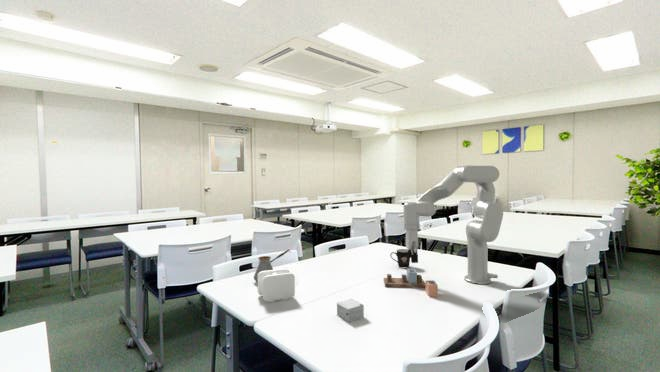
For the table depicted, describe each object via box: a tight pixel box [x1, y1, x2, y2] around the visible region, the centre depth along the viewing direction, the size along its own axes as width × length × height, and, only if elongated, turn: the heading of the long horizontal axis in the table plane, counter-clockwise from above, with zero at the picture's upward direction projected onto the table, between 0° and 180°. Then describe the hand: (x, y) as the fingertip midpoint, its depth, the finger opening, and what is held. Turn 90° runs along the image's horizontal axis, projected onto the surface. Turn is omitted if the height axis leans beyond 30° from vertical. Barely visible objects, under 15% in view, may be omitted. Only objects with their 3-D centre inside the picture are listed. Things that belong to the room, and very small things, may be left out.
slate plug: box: [406, 268, 418, 284], centre depth 158 cm, size 4×6×6 cm, turn 174°
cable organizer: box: [257, 267, 296, 303], centre depth 142 cm, size 15×11×12 cm
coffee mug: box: [389, 248, 411, 268], centre depth 191 cm, size 12×9×10 cm
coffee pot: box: [253, 249, 292, 282], centre depth 166 cm, size 21×12×15 cm, turn 128°
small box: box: [336, 298, 365, 323], centre depth 121 cm, size 8×8×5 cm
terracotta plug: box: [425, 279, 439, 298], centre depth 144 cm, size 4×6×6 cm, turn 175°
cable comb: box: [383, 273, 426, 289], centre depth 158 cm, size 20×10×4 cm, turn 85°
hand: (412, 260), depth 158 cm, fingers open, 9 cm apart
